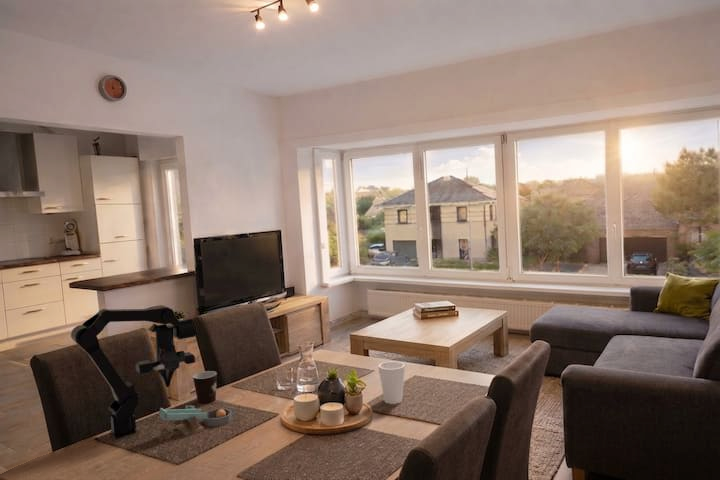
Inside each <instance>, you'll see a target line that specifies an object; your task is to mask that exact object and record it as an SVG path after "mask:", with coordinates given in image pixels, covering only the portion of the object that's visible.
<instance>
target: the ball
mask: <svg viewBox="0 0 720 480" xmlns="http://www.w3.org/2000/svg"><path fill="white" fill-rule="evenodd" d="M219 409H220V410H218V411H217V413H216V417H217V418H221V417H224V416H225V415H226V412H225V411H224V410H223V409H224V408H219Z"/></svg>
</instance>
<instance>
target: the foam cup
mask: <svg viewBox="0 0 720 480" xmlns="http://www.w3.org/2000/svg"><path fill="white" fill-rule="evenodd" d="M405 372H406V367H405V363H404V362H402V361H394V360H391V361H390V360H389V361H384V362H381V363H379V364H378V375H379V377H380V383H381V384H380V385H381V388H382V395H383V399H384V400H383V401H384V403H385V404H388V403H389V405H398V404H400V403H402V402H403V393H404V383H405V382H404V379H405ZM401 401H402V402H401ZM397 403H398V404H397Z"/></svg>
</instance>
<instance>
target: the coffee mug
mask: <svg viewBox="0 0 720 480" xmlns="http://www.w3.org/2000/svg"><path fill="white" fill-rule="evenodd" d="M217 375H218V373H217V371H214V370H207V371H200V372H197V373H194V374H193V376H192V379H193V383H194V384H193V385H194V389H195V394H196V399H197V403H198V404H200V405H209V404H212V403H214V402H216V399H217V397H216V395H217V382H218V381H217V377H218V376H217Z"/></svg>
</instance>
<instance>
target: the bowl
mask: <svg viewBox="0 0 720 480" xmlns="http://www.w3.org/2000/svg"><path fill="white" fill-rule="evenodd" d="M220 409H221V408H215V409H212V410H208V411H206V413H207V417H206V419H202V420H203V424H204V425H206V426H207V427H221V426H223V425H226V424H229V423H230V422H231V421H232V420H233V411H232V410H231V409H229V408H222V409H223V410H224V411H225V412H226V415H225V416H224V417H221V418H217V417H216V413H217V411H218V410H220Z"/></svg>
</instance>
